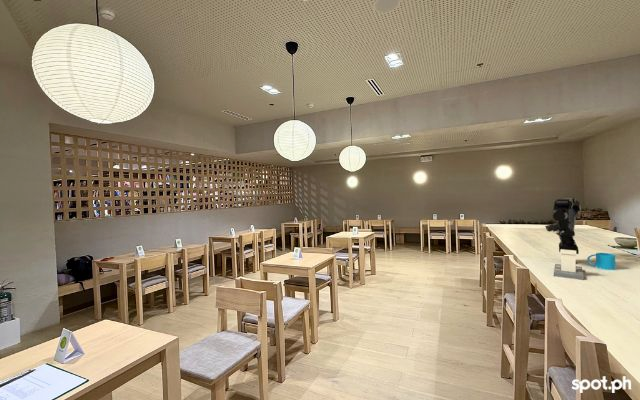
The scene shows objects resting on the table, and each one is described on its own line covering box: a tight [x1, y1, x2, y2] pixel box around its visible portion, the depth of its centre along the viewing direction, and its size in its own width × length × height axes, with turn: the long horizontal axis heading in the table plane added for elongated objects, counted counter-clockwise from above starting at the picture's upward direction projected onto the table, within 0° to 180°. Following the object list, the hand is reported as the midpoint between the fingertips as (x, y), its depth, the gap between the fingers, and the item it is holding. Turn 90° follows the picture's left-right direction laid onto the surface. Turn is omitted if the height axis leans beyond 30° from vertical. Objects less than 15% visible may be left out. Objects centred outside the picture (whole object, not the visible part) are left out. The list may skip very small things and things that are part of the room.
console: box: [553, 263, 584, 281], centre depth 163 cm, size 22×12×2 cm, turn 139°
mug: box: [587, 252, 616, 271], centre depth 172 cm, size 12×8×8 cm
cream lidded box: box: [559, 249, 577, 272], centre depth 160 cm, size 4×7×11 cm, turn 49°
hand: (563, 245), depth 176 cm, fingers closed
